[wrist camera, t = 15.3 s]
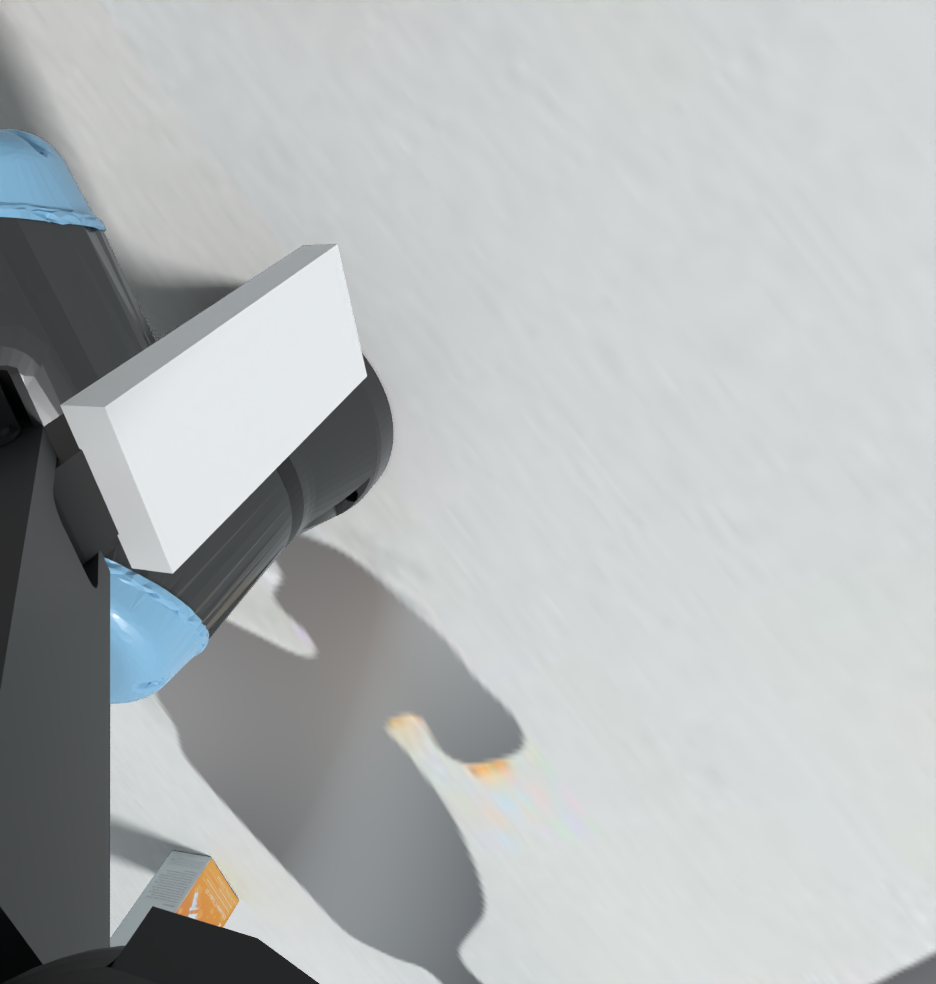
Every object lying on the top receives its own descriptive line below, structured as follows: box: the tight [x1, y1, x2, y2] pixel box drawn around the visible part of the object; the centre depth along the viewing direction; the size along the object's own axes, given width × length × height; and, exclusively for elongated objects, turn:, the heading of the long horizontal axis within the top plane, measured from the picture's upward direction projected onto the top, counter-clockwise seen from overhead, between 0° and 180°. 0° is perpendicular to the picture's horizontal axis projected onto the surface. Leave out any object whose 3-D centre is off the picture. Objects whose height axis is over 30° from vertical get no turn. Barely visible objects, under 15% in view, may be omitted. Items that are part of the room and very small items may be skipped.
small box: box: [110, 851, 239, 947], centre depth 96 cm, size 8×6×13 cm
